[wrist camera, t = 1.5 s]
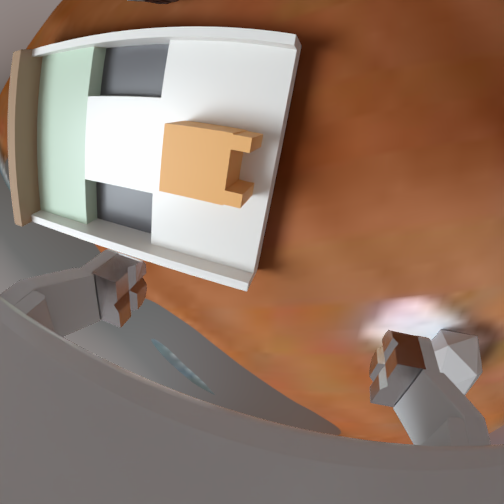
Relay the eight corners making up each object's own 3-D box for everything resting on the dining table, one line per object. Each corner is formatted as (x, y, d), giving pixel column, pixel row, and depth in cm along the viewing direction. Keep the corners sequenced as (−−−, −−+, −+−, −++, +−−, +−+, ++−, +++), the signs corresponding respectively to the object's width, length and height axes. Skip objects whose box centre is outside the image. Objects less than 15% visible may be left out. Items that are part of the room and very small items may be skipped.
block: (185, 120, 27) (164, 123, 23) (263, 132, 25) (252, 136, 22) (179, 180, 29) (159, 190, 26) (252, 196, 28) (240, 209, 25)
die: (397, 346, 35) (412, 418, 30) (435, 322, 28) (455, 410, 23) (444, 334, 36) (459, 400, 31) (483, 309, 29) (502, 386, 23)
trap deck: (48, 51, 28) (13, 52, 22) (301, 45, 23) (293, 28, 18) (45, 208, 39) (15, 223, 34) (257, 269, 35) (241, 302, 29)
